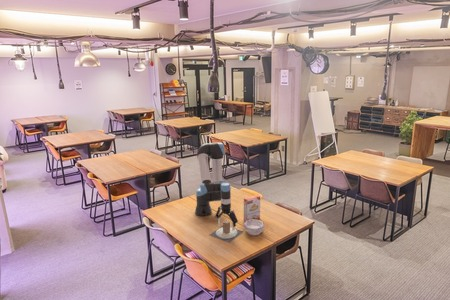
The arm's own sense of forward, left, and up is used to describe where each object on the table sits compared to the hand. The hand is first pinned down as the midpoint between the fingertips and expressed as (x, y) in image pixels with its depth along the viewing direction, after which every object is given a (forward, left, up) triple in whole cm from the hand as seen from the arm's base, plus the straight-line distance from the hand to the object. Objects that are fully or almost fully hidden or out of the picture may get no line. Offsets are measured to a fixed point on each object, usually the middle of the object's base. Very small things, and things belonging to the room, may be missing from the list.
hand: (226, 227), depth 245 cm
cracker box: (+4, +32, -6) cm, 33 cm away
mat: (0, 0, -5) cm, 5 cm away
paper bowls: (+17, +14, -6) cm, 23 cm away
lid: (0, 0, -5) cm, 5 cm away
